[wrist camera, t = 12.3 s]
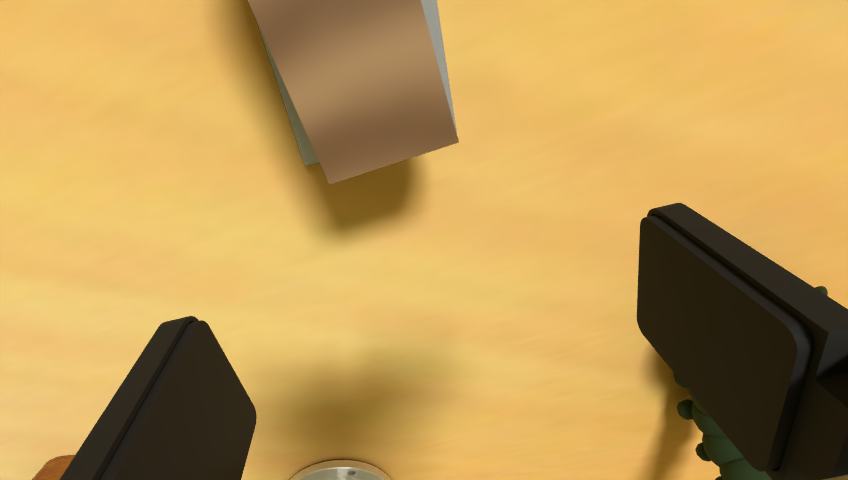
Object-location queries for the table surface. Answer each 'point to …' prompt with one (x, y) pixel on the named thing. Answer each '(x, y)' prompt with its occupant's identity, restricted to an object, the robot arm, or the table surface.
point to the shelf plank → (359, 79)
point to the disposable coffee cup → (54, 468)
